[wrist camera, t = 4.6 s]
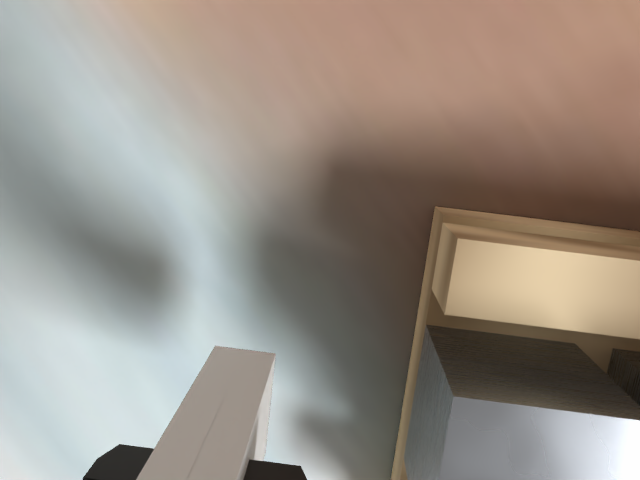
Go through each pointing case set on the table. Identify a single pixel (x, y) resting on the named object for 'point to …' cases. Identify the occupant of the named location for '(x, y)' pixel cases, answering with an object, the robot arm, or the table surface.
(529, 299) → the slot rail
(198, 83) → the table surface
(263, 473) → the robot arm
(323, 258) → the table surface
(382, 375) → the table surface
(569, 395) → the grey metallic cube
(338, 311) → the table surface
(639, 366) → the chip
